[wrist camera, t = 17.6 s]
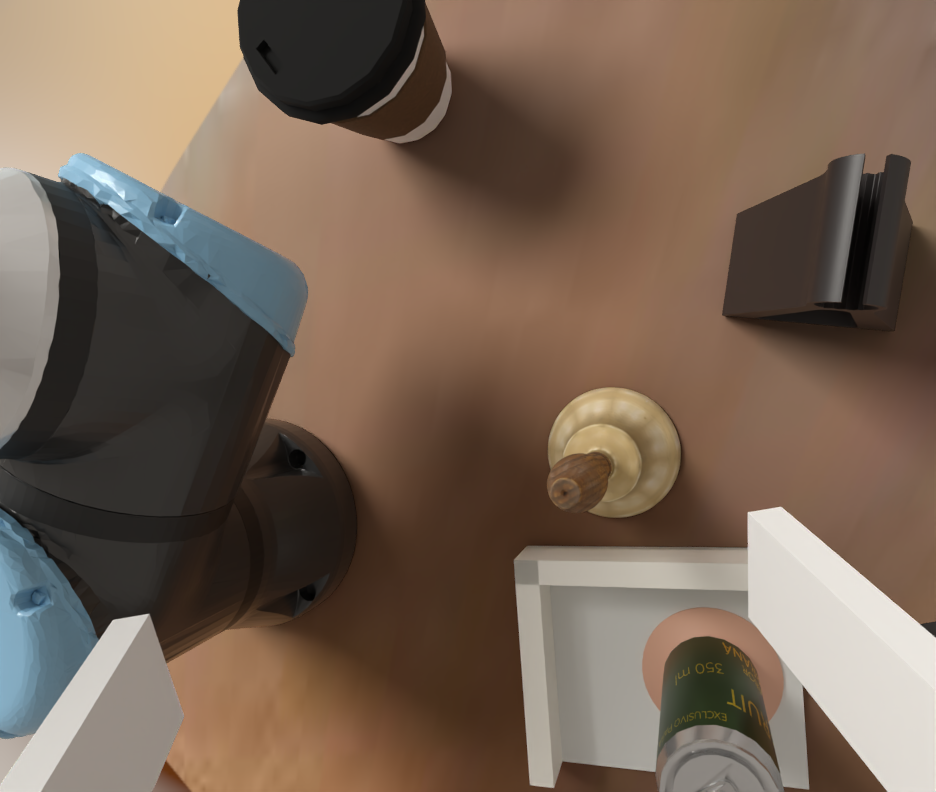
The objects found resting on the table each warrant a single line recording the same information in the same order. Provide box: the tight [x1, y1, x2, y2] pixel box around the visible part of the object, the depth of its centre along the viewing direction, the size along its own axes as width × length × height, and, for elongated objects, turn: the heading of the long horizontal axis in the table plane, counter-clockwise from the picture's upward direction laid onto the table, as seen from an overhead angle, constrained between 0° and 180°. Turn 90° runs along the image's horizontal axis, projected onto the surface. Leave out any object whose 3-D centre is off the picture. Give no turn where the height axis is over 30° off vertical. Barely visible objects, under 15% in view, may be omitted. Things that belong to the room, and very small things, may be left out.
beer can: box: [655, 636, 784, 792], centre depth 34 cm, size 5×5×12 cm
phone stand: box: [722, 154, 913, 331], centre depth 32 cm, size 9×6×12 cm, turn 82°
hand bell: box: [547, 387, 681, 518], centre depth 34 cm, size 8×8×16 cm
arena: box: [514, 546, 809, 789], centre depth 40 cm, size 16×14×4 cm
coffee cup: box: [238, 0, 452, 144], centre depth 40 cm, size 11×11×12 cm
